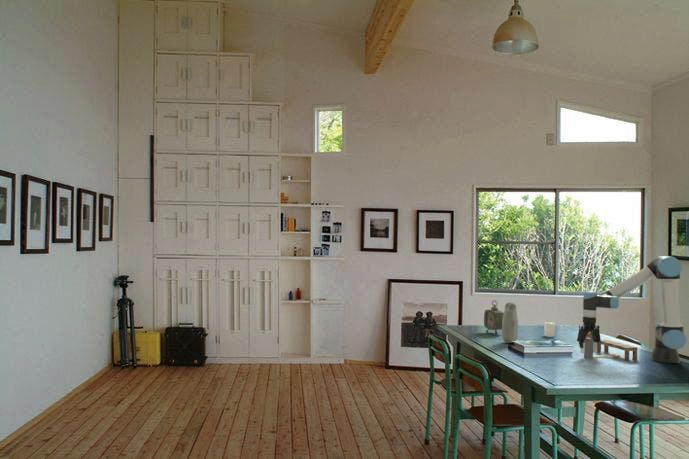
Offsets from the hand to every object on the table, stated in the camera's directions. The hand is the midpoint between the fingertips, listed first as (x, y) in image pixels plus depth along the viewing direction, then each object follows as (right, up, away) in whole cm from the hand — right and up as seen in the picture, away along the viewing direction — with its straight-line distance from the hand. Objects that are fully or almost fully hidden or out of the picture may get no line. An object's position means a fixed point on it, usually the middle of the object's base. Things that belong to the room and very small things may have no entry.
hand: (588, 352), depth 319 cm
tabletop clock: (-38, -3, +71) cm, 80 cm away
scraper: (+7, -3, +2) cm, 8 cm away
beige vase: (-37, -2, +36) cm, 52 cm away
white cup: (+3, -4, +68) cm, 68 cm away
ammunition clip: (+19, -4, +42) cm, 46 cm away
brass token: (+21, -4, +7) cm, 22 cm away
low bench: (+21, -4, +7) cm, 22 cm away
